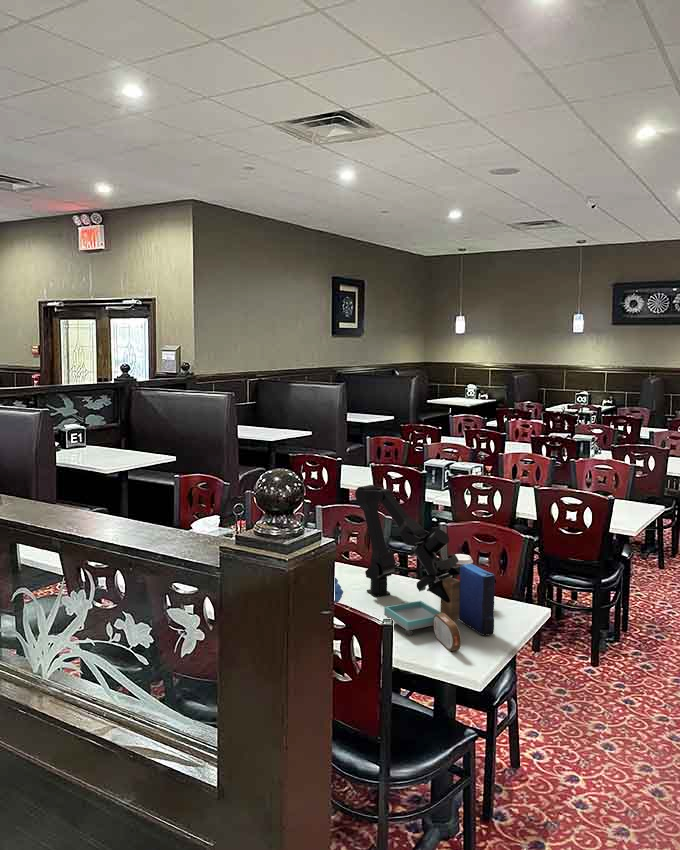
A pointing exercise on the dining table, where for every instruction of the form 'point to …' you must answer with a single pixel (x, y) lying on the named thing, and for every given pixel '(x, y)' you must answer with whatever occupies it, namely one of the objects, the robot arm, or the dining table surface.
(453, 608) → the walnut block
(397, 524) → the robot arm
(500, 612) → the dining table surface
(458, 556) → the coffee cup
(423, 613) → the teal shallow tray
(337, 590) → the grapes
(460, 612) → the book
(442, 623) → the tin
